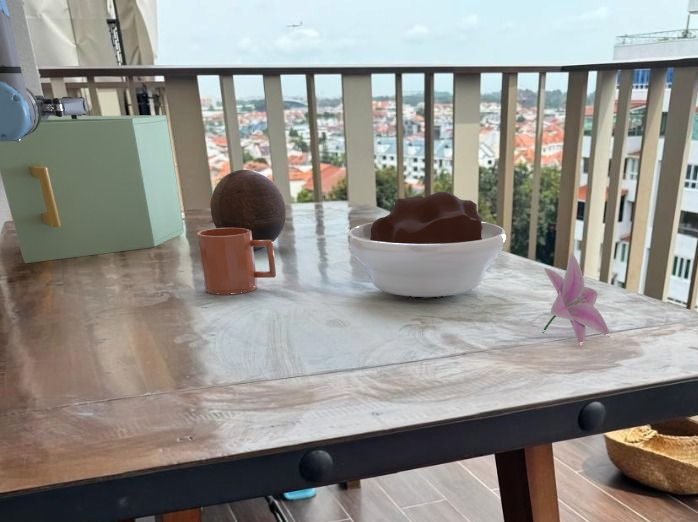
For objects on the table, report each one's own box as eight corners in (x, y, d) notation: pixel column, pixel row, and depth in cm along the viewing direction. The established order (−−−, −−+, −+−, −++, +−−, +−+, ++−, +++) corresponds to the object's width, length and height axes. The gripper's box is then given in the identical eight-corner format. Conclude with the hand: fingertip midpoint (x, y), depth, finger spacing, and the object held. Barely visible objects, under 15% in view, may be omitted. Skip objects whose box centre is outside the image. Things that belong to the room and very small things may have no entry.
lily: (531, 360, 96) (575, 297, 89) (498, 303, 102) (536, 241, 96) (599, 374, 102) (644, 316, 96) (563, 319, 108) (603, 262, 102)
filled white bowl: (388, 320, 109) (385, 207, 101) (328, 285, 128) (322, 188, 120) (533, 300, 118) (541, 195, 110) (456, 270, 137) (459, 179, 129)
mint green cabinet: (165, 251, 155) (143, 120, 143) (33, 268, 142) (-4, 126, 130) (152, 246, 160) (130, 119, 148) (23, 262, 147) (-13, 125, 135)
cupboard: (154, 247, 161) (132, 118, 148) (39, 246, 163) (8, 119, 151) (184, 232, 176) (166, 115, 163) (79, 232, 178) (53, 116, 166)
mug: (199, 295, 123) (191, 236, 119) (212, 283, 131) (204, 227, 126) (273, 294, 123) (267, 236, 118) (281, 282, 130) (275, 227, 126)
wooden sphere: (303, 248, 157) (297, 168, 150) (247, 259, 148) (237, 175, 140) (258, 240, 166) (249, 164, 158) (201, 250, 156) (190, 170, 148)
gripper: (-69, 139, 115) (-43, 132, 132) (102, 134, 121) (106, 128, 138) (-87, 81, 111) (-57, 82, 128) (91, 80, 117) (97, 80, 134)
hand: (28, 106), depth 133 cm, fingers open, 13 cm apart
